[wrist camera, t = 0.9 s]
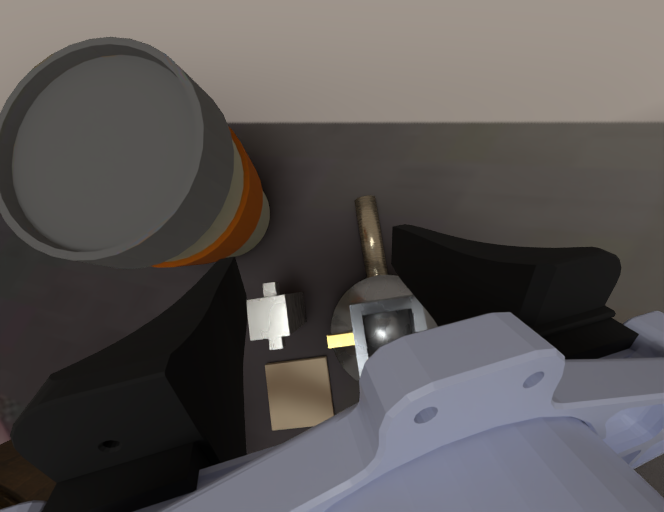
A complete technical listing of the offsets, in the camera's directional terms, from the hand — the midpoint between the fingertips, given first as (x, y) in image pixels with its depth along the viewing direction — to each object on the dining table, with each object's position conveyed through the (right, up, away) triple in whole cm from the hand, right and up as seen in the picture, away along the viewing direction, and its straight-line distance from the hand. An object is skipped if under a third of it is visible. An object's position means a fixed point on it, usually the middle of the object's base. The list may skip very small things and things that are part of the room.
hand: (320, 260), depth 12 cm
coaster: (-3, -13, +14) cm, 19 cm away
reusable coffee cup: (-10, +4, +17) cm, 20 cm away
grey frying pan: (+5, -3, +14) cm, 16 cm away
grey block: (-4, -5, +15) cm, 16 cm away
